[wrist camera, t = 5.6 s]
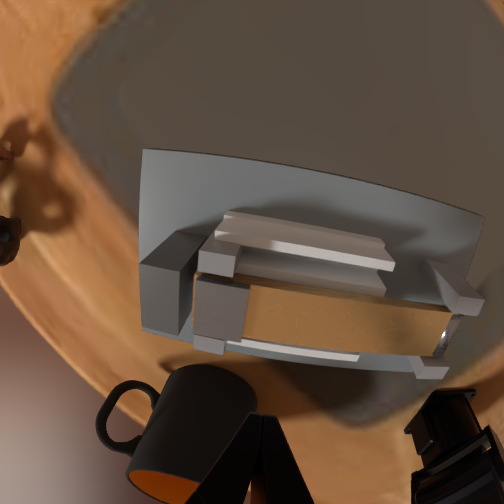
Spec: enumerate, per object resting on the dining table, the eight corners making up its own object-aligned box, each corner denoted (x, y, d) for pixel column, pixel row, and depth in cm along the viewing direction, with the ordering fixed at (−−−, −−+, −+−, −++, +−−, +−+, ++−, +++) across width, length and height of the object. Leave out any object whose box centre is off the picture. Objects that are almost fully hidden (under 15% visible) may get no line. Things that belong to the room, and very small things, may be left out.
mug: (137, 329, 22) (72, 424, 12) (273, 386, 23) (262, 498, 13) (125, 385, 25) (80, 465, 15) (237, 432, 26) (219, 520, 16)
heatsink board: (477, 213, 16) (531, 243, 10) (415, 364, 20) (438, 417, 15) (150, 148, 17) (94, 155, 11) (147, 323, 22) (113, 374, 16)
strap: (458, 305, 14) (469, 319, 12) (437, 346, 15) (446, 361, 13) (199, 265, 14) (191, 279, 13) (196, 316, 15) (188, 332, 14)
